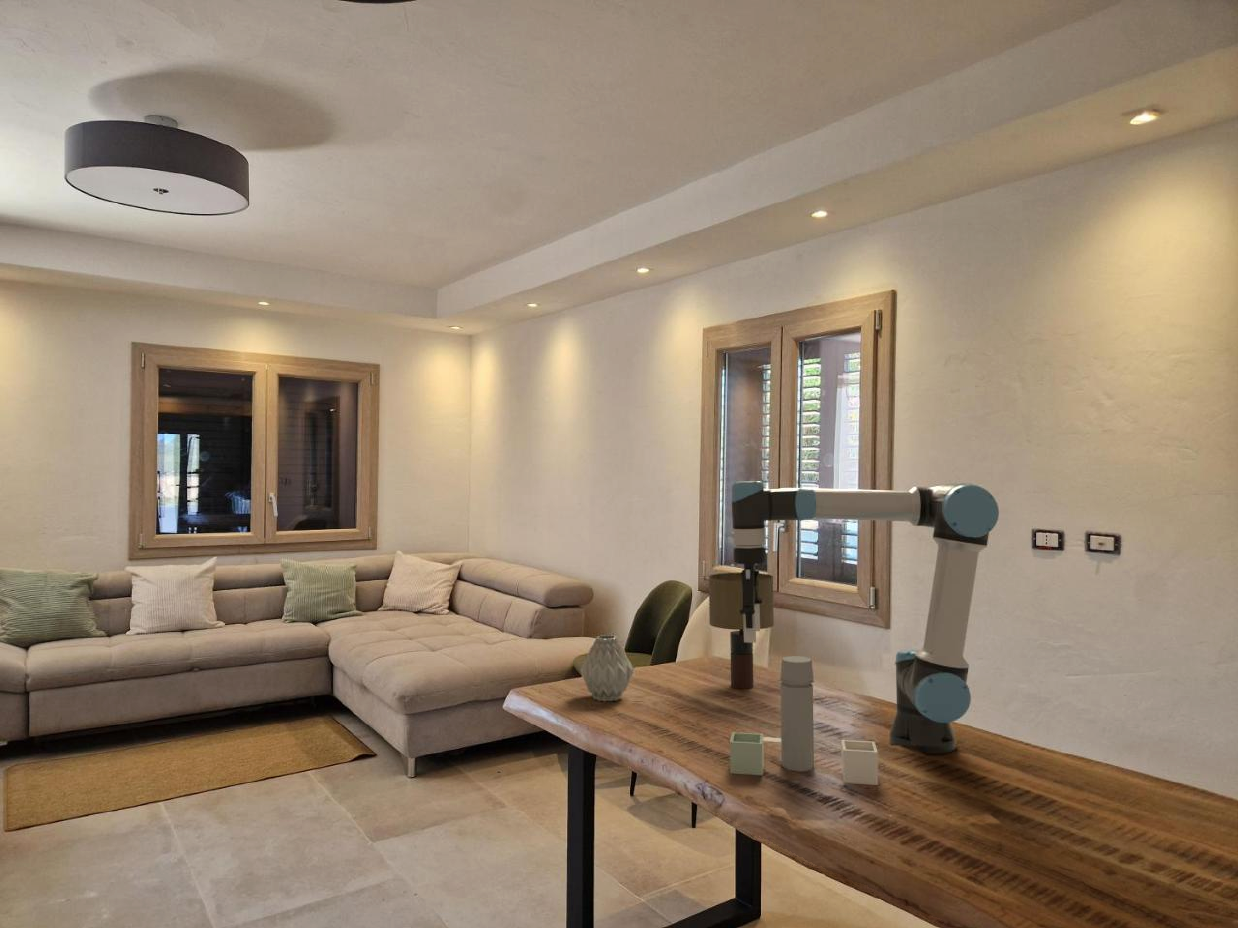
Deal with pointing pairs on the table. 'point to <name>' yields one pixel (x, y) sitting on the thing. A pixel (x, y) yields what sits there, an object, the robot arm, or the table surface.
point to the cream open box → (859, 762)
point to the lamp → (738, 620)
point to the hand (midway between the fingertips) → (752, 636)
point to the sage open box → (747, 753)
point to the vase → (607, 669)
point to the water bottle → (797, 713)
